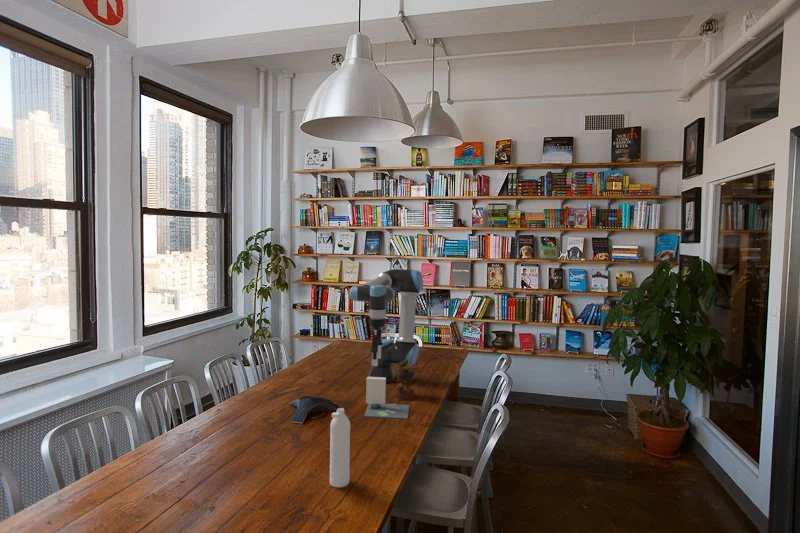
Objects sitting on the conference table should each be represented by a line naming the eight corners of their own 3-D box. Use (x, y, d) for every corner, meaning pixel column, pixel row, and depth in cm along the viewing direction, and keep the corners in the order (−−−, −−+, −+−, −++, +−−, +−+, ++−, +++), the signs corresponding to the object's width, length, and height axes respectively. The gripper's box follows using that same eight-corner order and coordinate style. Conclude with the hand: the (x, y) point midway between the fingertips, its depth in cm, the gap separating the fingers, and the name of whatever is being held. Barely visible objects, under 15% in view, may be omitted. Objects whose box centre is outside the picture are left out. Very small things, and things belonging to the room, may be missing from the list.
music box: (408, 403, 222) (405, 363, 221) (388, 400, 227) (386, 361, 227) (421, 394, 235) (419, 356, 235) (402, 392, 240) (400, 355, 240)
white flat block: (367, 404, 217) (367, 376, 216) (396, 406, 216) (397, 377, 215) (365, 407, 212) (366, 379, 211) (395, 409, 211) (396, 380, 210)
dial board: (368, 404, 219) (368, 403, 219) (409, 405, 218) (409, 404, 218) (363, 416, 203) (364, 415, 203) (407, 418, 202) (407, 417, 202)
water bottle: (334, 476, 152) (335, 404, 150) (352, 479, 150) (353, 406, 149) (323, 489, 143) (324, 413, 142) (342, 493, 142) (343, 416, 140)
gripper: (372, 313, 224) (372, 355, 225) (365, 322, 199) (364, 368, 200) (387, 314, 224) (386, 355, 225) (382, 322, 199) (381, 369, 200)
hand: (376, 362), depth 213 cm, fingers open, 13 cm apart
